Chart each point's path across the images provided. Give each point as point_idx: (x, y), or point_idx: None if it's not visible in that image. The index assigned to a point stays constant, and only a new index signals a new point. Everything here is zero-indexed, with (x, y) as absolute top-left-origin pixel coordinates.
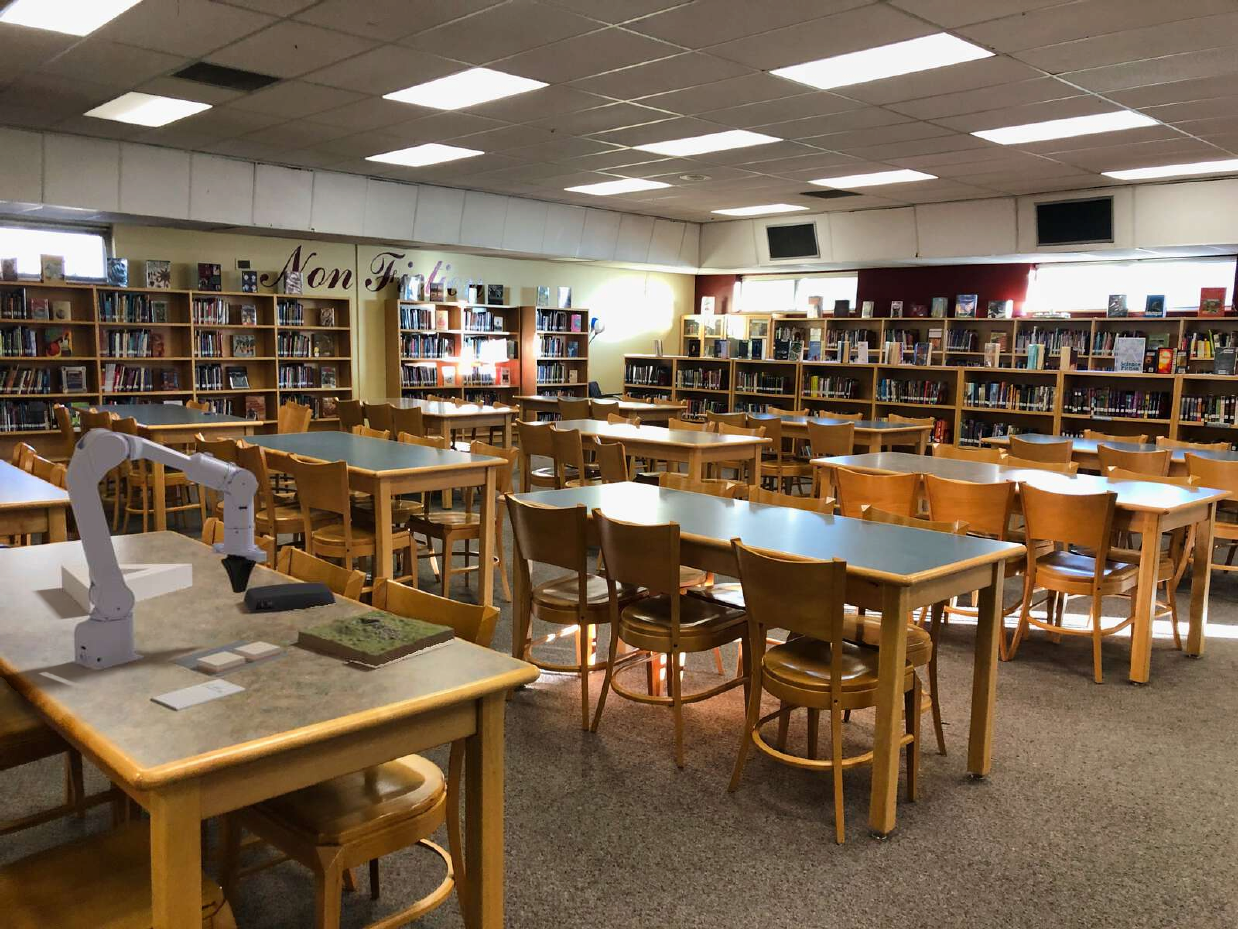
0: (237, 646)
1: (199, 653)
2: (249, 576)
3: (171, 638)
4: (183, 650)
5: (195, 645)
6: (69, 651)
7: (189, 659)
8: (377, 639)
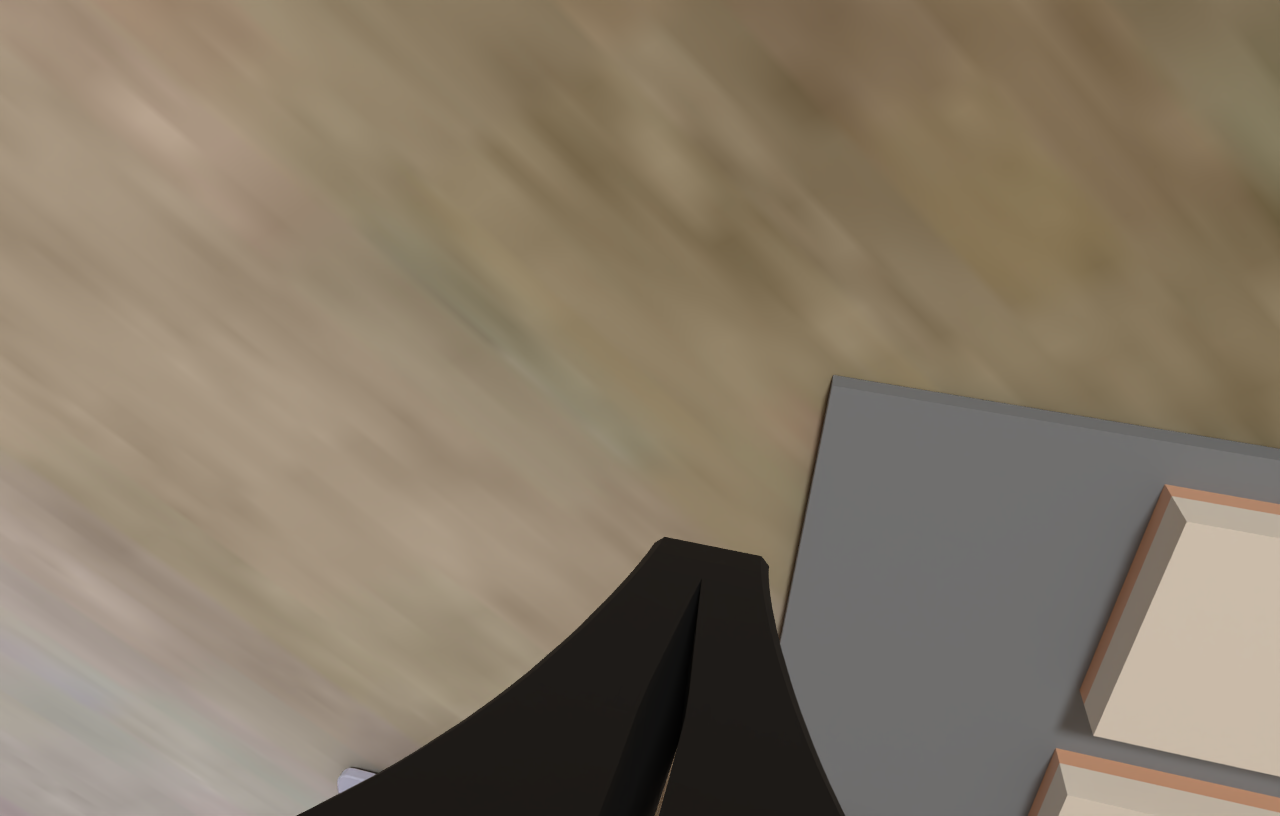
0: (925, 509)
1: None
2: (810, 742)
3: (301, 480)
4: None
5: (565, 534)
6: (160, 809)
7: None
8: None
